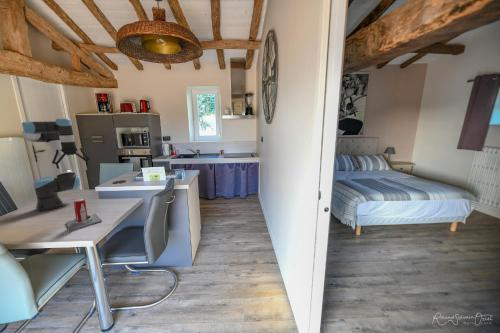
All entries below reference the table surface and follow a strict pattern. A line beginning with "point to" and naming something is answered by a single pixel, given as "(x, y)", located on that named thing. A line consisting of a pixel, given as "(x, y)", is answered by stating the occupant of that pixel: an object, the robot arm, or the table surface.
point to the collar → (84, 220)
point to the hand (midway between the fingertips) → (74, 171)
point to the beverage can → (80, 210)
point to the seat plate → (75, 227)
